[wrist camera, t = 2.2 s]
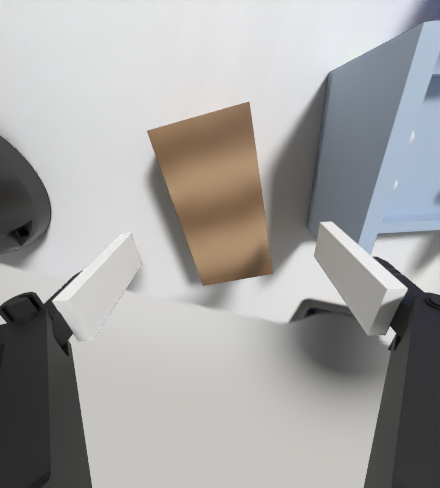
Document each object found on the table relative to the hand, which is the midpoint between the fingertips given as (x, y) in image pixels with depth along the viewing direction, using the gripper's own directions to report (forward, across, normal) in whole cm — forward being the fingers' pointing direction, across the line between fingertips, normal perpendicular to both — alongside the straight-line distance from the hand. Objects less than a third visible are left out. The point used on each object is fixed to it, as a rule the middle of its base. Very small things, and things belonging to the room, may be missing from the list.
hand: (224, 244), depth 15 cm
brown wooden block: (+11, 0, 0) cm, 11 cm away
